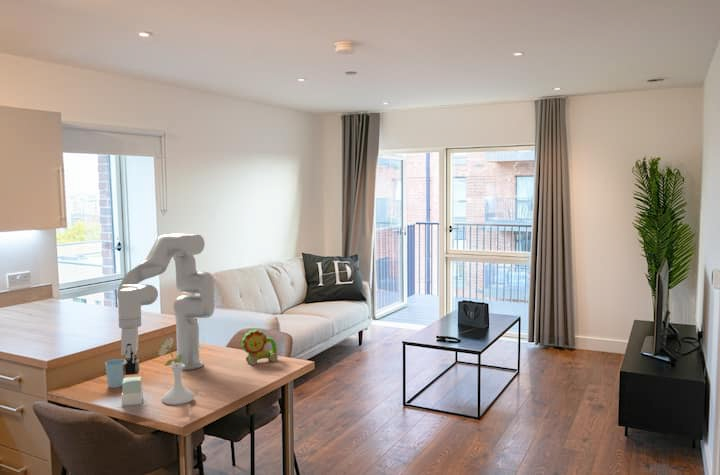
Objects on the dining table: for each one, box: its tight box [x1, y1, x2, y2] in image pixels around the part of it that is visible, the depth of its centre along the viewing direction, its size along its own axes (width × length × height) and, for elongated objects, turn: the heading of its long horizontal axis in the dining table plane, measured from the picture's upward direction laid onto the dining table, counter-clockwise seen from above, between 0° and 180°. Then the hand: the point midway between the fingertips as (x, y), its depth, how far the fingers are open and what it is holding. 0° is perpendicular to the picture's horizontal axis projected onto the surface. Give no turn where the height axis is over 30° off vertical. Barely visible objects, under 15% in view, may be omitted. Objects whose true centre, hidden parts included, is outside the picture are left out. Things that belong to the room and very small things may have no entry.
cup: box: [104, 358, 126, 389], centre depth 222 cm, size 8×8×10 cm
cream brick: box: [120, 386, 144, 405], centre depth 205 cm, size 6×6×4 cm
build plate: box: [115, 394, 149, 409], centre depth 206 cm, size 10×10×1 cm
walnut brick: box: [123, 358, 140, 376], centre depth 204 cm, size 5×5×4 cm
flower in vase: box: [157, 336, 195, 406], centre depth 206 cm, size 13×11×25 cm
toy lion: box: [241, 329, 278, 366], centre depth 256 cm, size 16×5×15 cm, turn 120°
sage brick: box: [121, 376, 143, 394], centre depth 205 cm, size 6×6×4 cm
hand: (131, 371), depth 205 cm, fingers closed on walnut brick, 5 cm apart
